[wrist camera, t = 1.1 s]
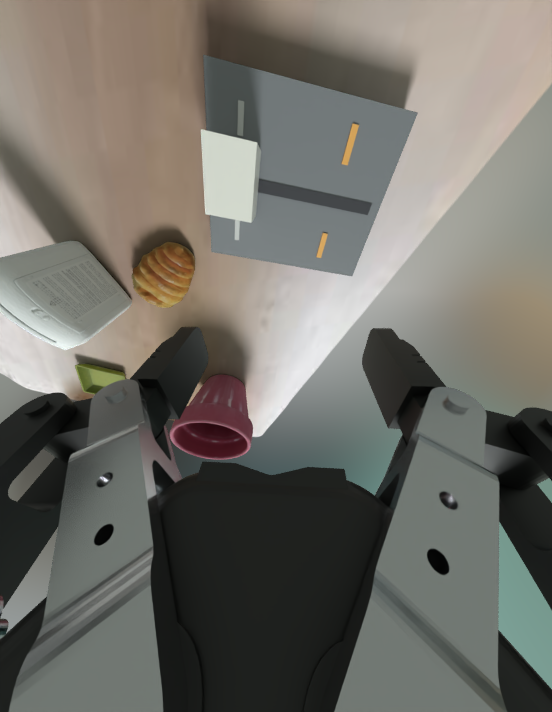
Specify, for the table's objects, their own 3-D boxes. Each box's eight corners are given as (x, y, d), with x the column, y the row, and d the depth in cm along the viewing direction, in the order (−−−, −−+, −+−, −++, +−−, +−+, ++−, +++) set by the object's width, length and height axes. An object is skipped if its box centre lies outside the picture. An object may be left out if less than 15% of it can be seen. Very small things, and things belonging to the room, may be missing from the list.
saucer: (81, 357, 40) (73, 364, 39) (130, 369, 42) (124, 376, 41) (89, 384, 45) (83, 391, 44) (132, 393, 48) (127, 401, 46)
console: (217, 246, 27) (211, 252, 24) (212, 71, 18) (202, 53, 15) (346, 268, 29) (352, 276, 26) (401, 121, 20) (418, 112, 17)
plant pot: (182, 391, 46) (157, 446, 36) (210, 354, 39) (188, 411, 29) (236, 413, 52) (226, 466, 42) (269, 385, 45) (266, 441, 35)
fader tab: (218, 208, 21) (205, 214, 17) (216, 140, 18) (200, 129, 14) (255, 216, 22) (251, 223, 18) (261, 150, 18) (257, 142, 15)
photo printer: (54, 246, 27) (-65, 280, 17) (77, 233, 26) (-36, 262, 17) (118, 311, 33) (55, 362, 24) (138, 303, 32) (81, 352, 23)
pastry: (165, 224, 25) (151, 230, 23) (209, 265, 29) (202, 275, 26) (133, 276, 30) (118, 286, 27) (176, 306, 33) (166, 318, 30)
